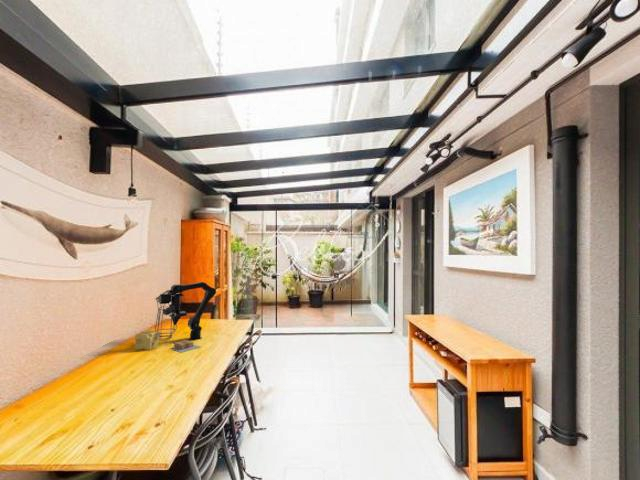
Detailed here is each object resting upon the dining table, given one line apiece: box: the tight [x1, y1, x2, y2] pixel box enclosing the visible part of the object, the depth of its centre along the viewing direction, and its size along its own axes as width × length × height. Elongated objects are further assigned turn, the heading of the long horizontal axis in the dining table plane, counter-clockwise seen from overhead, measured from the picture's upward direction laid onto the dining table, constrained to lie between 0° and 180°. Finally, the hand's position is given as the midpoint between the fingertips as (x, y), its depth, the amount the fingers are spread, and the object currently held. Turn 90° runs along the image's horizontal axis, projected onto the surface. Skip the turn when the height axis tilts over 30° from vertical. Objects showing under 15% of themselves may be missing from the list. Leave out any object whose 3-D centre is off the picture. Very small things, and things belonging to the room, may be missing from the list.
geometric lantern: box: [154, 289, 178, 340], centre depth 227 cm, size 16×16×35 cm
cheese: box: [134, 330, 160, 351], centre depth 202 cm, size 10×11×10 cm
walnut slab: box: [173, 339, 194, 350], centre depth 204 cm, size 8×3×9 cm
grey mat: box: [171, 344, 201, 353], centre depth 202 cm, size 14×12×1 cm
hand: (174, 325), depth 215 cm, fingers closed
